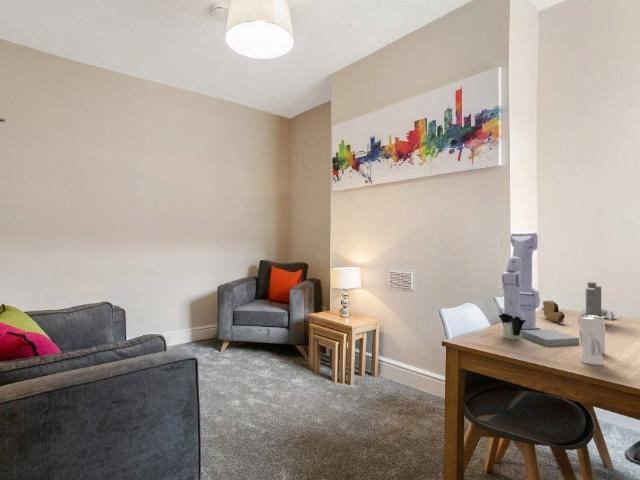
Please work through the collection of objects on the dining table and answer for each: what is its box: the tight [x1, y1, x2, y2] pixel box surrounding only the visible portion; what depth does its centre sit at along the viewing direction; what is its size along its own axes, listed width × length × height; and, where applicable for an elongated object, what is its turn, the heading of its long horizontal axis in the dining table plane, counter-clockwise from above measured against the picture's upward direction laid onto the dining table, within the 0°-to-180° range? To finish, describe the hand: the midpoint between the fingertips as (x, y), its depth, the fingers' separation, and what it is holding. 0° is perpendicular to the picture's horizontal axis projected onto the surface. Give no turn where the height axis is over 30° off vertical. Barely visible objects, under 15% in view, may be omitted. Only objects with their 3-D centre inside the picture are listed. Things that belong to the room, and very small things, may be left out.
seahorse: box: [577, 308, 616, 321], centre depth 181 cm, size 5×12×20 cm
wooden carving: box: [541, 300, 566, 323], centre depth 178 cm, size 16×5×10 cm, turn 179°
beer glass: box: [578, 315, 606, 366], centre depth 121 cm, size 7×7×15 cm
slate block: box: [521, 328, 580, 347], centre depth 146 cm, size 14×14×3 cm
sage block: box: [502, 322, 522, 340], centre depth 150 cm, size 4×4×6 cm
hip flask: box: [585, 281, 602, 317], centre depth 170 cm, size 16×4×20 cm, turn 131°
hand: (512, 333), depth 150 cm, fingers open, 5 cm apart
